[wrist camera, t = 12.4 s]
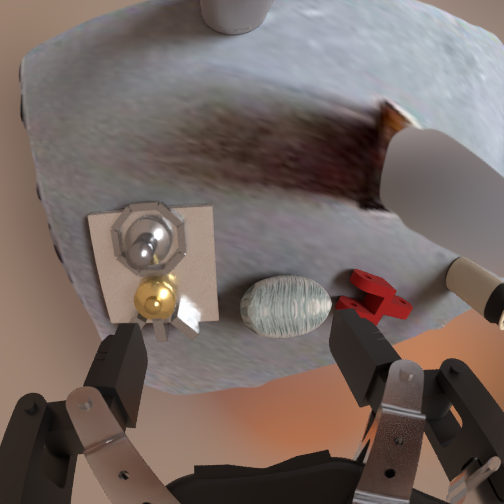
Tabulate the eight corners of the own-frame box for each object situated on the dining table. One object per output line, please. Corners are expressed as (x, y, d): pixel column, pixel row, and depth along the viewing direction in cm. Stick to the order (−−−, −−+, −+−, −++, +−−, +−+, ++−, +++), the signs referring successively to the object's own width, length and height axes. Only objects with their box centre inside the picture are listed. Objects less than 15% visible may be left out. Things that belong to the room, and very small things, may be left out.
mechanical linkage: (330, 301, 48) (341, 317, 44) (349, 266, 46) (362, 279, 41) (392, 317, 52) (404, 331, 48) (409, 287, 50) (423, 299, 45)
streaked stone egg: (233, 337, 44) (258, 351, 35) (229, 278, 45) (254, 276, 36) (306, 326, 49) (342, 334, 40) (303, 273, 50) (339, 271, 41)
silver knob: (125, 217, 36) (108, 233, 30) (169, 214, 37) (161, 230, 30) (131, 261, 38) (117, 283, 32) (174, 259, 39) (167, 282, 33)
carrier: (91, 204, 36) (73, 215, 31) (212, 194, 39) (212, 204, 33) (116, 323, 44) (107, 345, 38) (219, 320, 46) (220, 344, 41)
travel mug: (441, 291, 52) (493, 336, 35) (449, 258, 49) (508, 298, 32) (462, 286, 53) (512, 325, 36) (470, 254, 50) (526, 290, 33)
